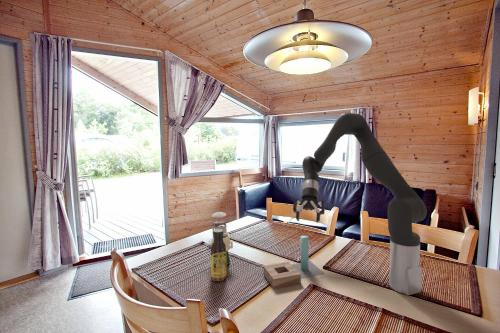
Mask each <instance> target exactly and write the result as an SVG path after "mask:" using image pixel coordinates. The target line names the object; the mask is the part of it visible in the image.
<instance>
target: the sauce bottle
mask: <svg viewBox="0 0 500 333" xmlns="http://www.w3.org/2000/svg"><path fill="white" fill-rule="evenodd" d="M213 235H214V242H213V244H212V243H211V246H210V278H211V280H212V281H213V282H216V281H218V282H219V281H220V282H223V281H224V279H225V278H227V265H226V245H225V243H224V242H223V230H222V229H214V230H212V236H213ZM225 280H226V279H225Z"/></svg>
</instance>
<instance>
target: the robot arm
mask: <svg viewBox="0 0 500 333" xmlns="http://www.w3.org/2000/svg"><path fill="white" fill-rule="evenodd" d="M344 135H346V136H347V135H350V136H354V137H355V139H356V140H357V141H358V143H359V145H360V147H361V148H360V150H361V152H360V153H361V154H360V157H361V158H360V159H361V161H362V164H363V165H364V167H365V169H366V170H367V172H368V173H369V176H371V177H372V178H373V179H374V180H375V181H377V182H378V183H380V184H381V185H383V186H384V187H385V188H386V189H388V190H389V191H390V193H391V194H392V195H393V196H394V197H395V198H394V199H391V201H390V202H389V204H388V207H387V230H388V233H389V237H390V240H389V244H390V245H389V277H388V278H389V279H388V280H389V281H388V282H389V284H388V285H389V287H390V288H391V289H392V290H394V291H396V292H398V293H400V294H404V295H406V296H410V295H414V294H415V295H416V294H418V293H422V276H423V274H422V272H423V267H422V265H420V255H421V253H420V251H421V236H420V235H419V234H418V233H417V232H414V231H413V224H414V223H419V222H421V221H422V222H423V221H424V220H425V219H426V218H427V206H426V204H425V202H424V201H423V200H422V199H421V197H420V196H419V195H418V194H417V192H416V191H415V190H414V189H413V188H412V187H411V186H410V184H409V183H408V182H407V180H406V179H405V178H404V177H403V175H402V174H401V173H400V171H399V169H398V168H397V167H396V166H395V164H394V163H393V161H392V160H391V158H390V157H389V155H388V154H387V152H386V151H385V150H384V149H383V147H382V145H381V144H380V142H379V141H378V139H377V138H376V137H375V135H374V133H373V132H372V130H371V127H370V126H369V124H368V122H367V119H366V118H365V117H364V116H363V115H362V114H360V113H354V112H353V113H352V112H345V113H342V114H340V115H339V116H338V117H337V119H336V120H335V122H334V123H333V125H332V127H331V129H330V131H329V132H328V134H327V135H326V137H325V139H324V140H323V142H321V144H320V146H319V147H318V148H317V149H316V150H315V151H314V153H313V156H310V155H306V156H305V157H304V158H303V160H302V165H301V166H302V170H303V175H304V178H303V184H302V192H301V199H300V200H298V199H294V200H293V207H292V211H293V213H295V219H296V221H297V222H300V215H301V213H302V212H304V211H314V212H315V213H316V219H315V220H316V221H315V222H316V224H317V223H319V222H320V221H321V216H322V215H325V201H324V200H321V201H318V200H319V189H320V188H319V182H320V181H319V178H320V175H319V174H320V172H322V170H323V168H324V166H325V163H326V162H327V160H329V158H330V157H331V156H332V155H334V153H335V151H336V148H337V147H336V146H337V142H338V141H339V140H340V138H342V137H343V136H344ZM318 173H319V174H318ZM298 206H299V207H298ZM317 206H320V207H321V210H319V208H318V207H317Z"/></svg>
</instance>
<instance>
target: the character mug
mask: <svg viewBox="0 0 500 333" xmlns="http://www.w3.org/2000/svg"><path fill="white" fill-rule="evenodd" d="M211 239H212V240H211V245H212V244H213V242H214V238H213V237H212V238H211ZM223 242H224V243H225V245H226V266H228V265H229V264H230V262H231V258H230V254H229V251H230V249H233V247H234V243H233V240H231V236H230V234H229V233H223Z"/></svg>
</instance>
